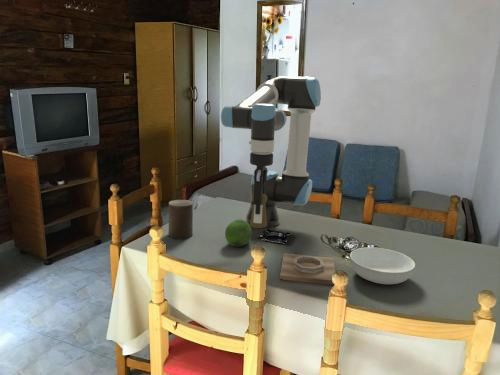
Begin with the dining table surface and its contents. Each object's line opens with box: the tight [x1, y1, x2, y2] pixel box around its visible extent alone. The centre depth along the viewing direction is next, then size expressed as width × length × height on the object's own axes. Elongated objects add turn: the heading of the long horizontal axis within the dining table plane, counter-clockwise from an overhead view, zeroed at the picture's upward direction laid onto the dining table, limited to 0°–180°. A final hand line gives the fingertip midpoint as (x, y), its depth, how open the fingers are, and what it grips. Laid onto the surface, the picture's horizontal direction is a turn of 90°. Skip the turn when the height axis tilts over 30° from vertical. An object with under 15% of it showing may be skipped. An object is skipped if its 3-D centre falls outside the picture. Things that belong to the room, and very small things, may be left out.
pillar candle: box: [168, 199, 194, 240], centre depth 170 cm, size 10×10×15 cm
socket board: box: [279, 252, 336, 286], centre depth 144 cm, size 18×18×3 cm
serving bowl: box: [349, 246, 416, 285], centre depth 140 cm, size 21×21×7 cm
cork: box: [250, 194, 267, 229], centre depth 141 cm, size 6×6×11 cm
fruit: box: [224, 219, 253, 248], centre depth 164 cm, size 15×10×10 cm, turn 161°
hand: (258, 219), depth 142 cm, fingers closed on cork, 5 cm apart
